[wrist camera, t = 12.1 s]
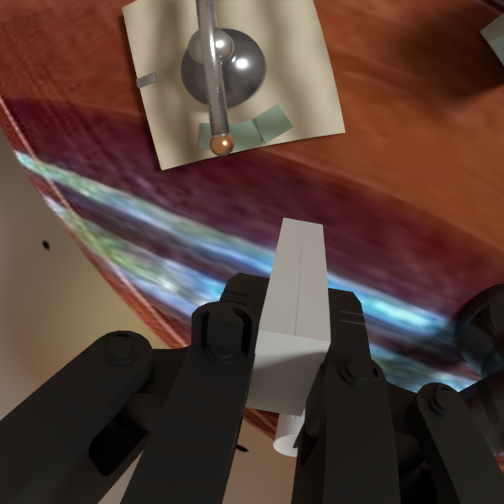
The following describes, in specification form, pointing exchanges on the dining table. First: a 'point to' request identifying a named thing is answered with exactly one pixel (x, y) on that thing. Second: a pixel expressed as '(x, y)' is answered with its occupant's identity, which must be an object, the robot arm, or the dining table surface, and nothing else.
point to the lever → (221, 72)
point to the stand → (256, 108)
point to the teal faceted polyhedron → (495, 36)
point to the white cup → (287, 433)
